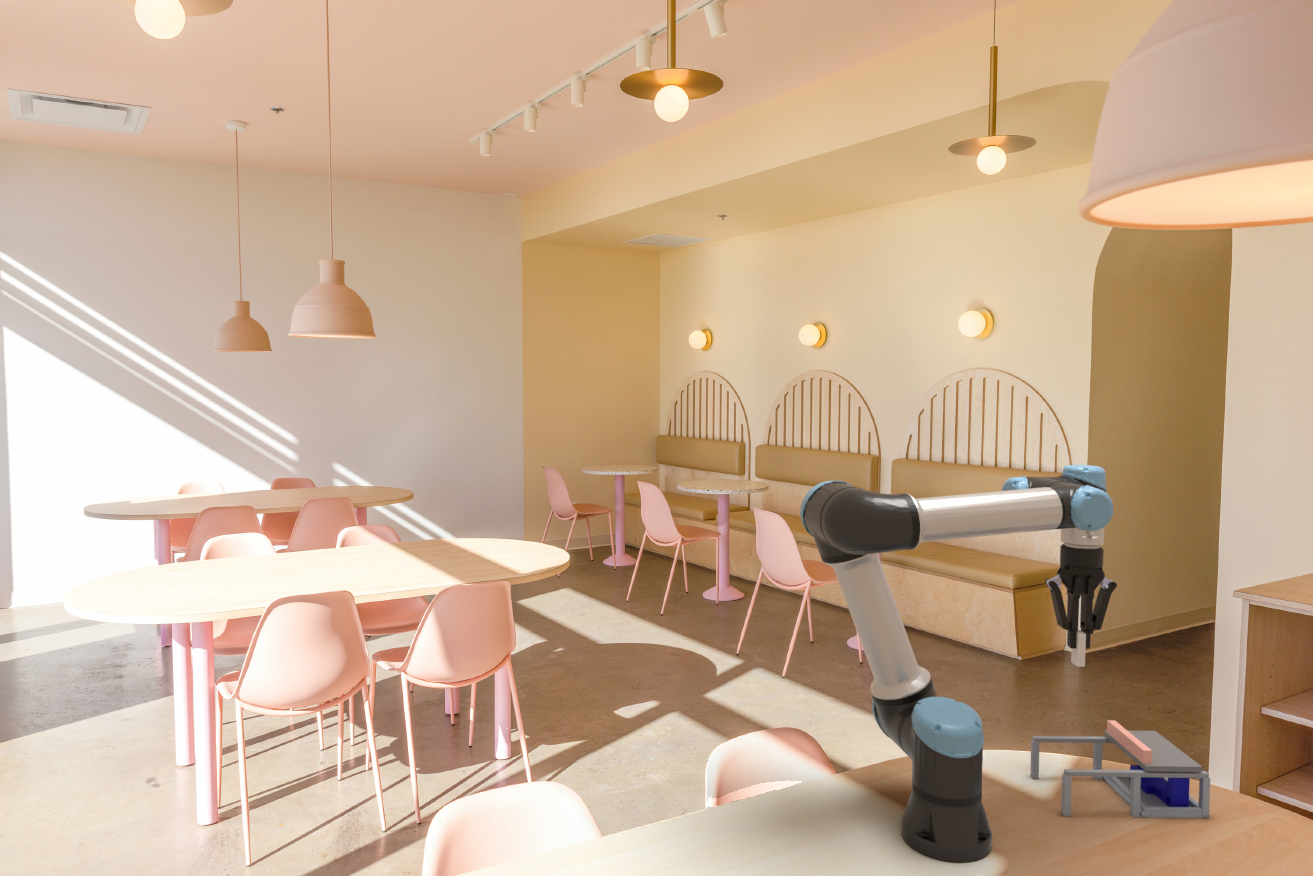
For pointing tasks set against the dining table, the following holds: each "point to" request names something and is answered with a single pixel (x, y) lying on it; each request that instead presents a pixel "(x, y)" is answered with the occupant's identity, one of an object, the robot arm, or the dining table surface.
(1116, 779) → the grey frame rack
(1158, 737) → the lid
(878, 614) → the robot arm
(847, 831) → the dining table surface
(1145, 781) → the blue bracket
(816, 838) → the dining table surface
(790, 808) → the dining table surface
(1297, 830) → the dining table surface
